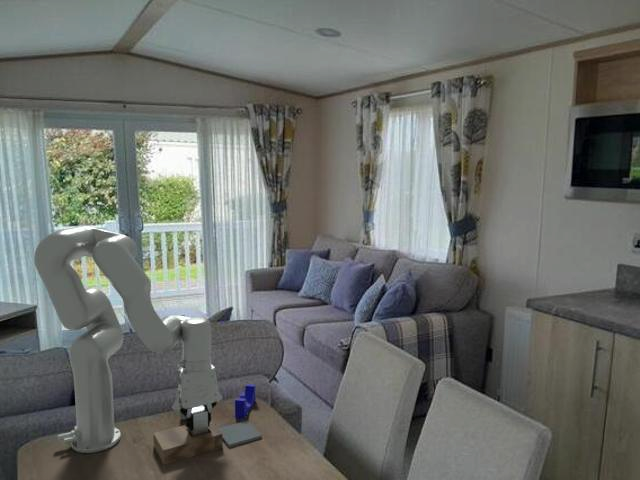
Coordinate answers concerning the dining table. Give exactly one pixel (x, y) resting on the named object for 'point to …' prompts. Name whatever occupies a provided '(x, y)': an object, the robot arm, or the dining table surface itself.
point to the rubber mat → (239, 433)
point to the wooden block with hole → (185, 443)
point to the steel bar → (199, 421)
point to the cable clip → (245, 401)
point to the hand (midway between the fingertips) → (198, 426)
